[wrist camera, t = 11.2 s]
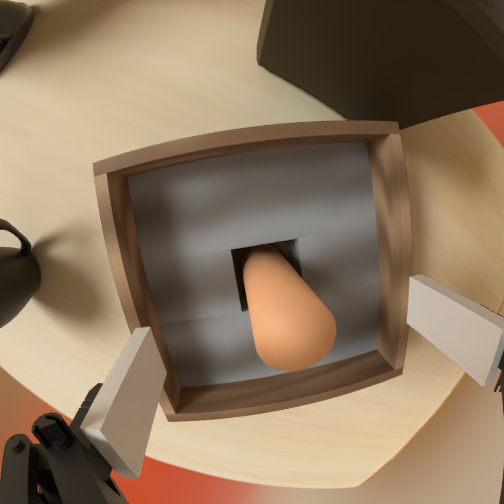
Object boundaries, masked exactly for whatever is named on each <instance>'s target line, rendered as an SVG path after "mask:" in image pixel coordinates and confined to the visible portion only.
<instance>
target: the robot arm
mask: <svg viewBox="0 0 504 504" xmlns="http://www.w3.org/2000/svg"><path fill="white" fill-rule="evenodd" d="M33 15H34V13H33V9H32V8H30V7H29V6H28V5H27V4H25V3H20V2H19V3H18V2H14V1H9V0H0V71H1V70H2V69H3V67H4V66H5V65H6V64H7V63H8V61H9V60H10V59H11V57H12V56H13V55H14V53H15V52H16V50H17V49H18V47H19V46H20V44H21V43H22V41H23V39H24V38H25V36H26V34H27V32H28V30H29V28H30V26H31V23H32V20H33ZM406 323H407V324H409V325H410V326H411V327H412V328H414V329H415V330H416V331H417V332H418V333H420V334H421V335H422V336H423V337H425V338H426V339H427V340H428V341H429V342H431V343H432V344H433V345H434V346H436V347H437V348H438V349H439V350H440V351H442V352H443V353H444V354H445V355H446V356H447V357H449V358H450V359H451V360H452V361H453V362H455V363H456V364H457V365H458V366H459V367H460V368H462V369H463V370H464V371H465V372H466V373H468V374H469V375H470V376H471V377H472V378H473V379H474V380H475V381H477V382H478V383H479V384H480V385H481V386H482V387H484V386H485V385H487V384H488V383H489V382H490V381H492V380H493V379H494V376H495V374H496V371H497V369H498V368H499V369H500V370H502V372H501V374H500V376H499V379H498V381H497V384H496V386H495V388H494V392H496V390H497V388H498V386H500V385H501V387H500V390H499V392H502V401H503V413H504V317H502V316H501V315H499V314H496V313H495V312H494V311H492V310H490V309H488V308H486V307H485V306H483V305H480V304H478V303H476V302H474V301H472V300H470V299H468V298H467V297H465V296H463V295H461V294H459V293H457V292H455V291H453V290H451V289H449V288H447V287H445V286H443V285H441V284H439V283H437V282H435V281H433V280H431V279H429V278H427V277H425V276H423V275H421V274H418V275H414V276H411V277H410V278H409V298H408V311H407V322H406ZM166 374H167V372H166V370H165V367H164V364H163V362H162V359H161V356H160V354H159V351H158V348H157V345H156V342H155V340H154V337H153V334H152V331H151V328H150V327H143V328H136V329H135V331H134V332H133V334H132V335H131V337H130V339H129V340H128V342H127V344H126V345H125V347H124V349H123V350H122V352H121V354H120V355H119V357H118V359H117V360H116V362H115V364H114V366H113V367H112V369H111V371H110V373H109V374H108V376H107V378H106V380H105V381H104V383H98V384H97V385H95V386H94V387H93V388H92V389H91V390H90V391H89V393H88V394H87V396H86V398H85V401H83V403H82V405H81V408H79V410H78V412H77V413H76V415H75V417H74V419H73V421H72V422H71V424H70V426H68V425H67V424H66V422H65V421H64V419H63V418H62V416H61V415H59V414H57V413H47V414H44V415H42V416H40V417H39V418H38V419H37V420H36V421H35V422H34V424H33V425H32V433H33V434H34V436H35V437H36V438H37V439H38V441H39V442H40V443H41V444H33V443H32V442H31V440H30V439H29V438H28V437H27V436H26V435H24V434H16V435H13V436H12V437H10V438H9V439H8V441H7V442H6V444H5V448H4V454H3V460H2V468H1V478H0V504H129V503H128V501H127V500H126V498H125V497H124V495H123V494H122V492H121V491H120V489H119V487H118V486H117V484H116V482H115V481H114V479H113V478H112V477H111V476H110V474H111V471H112V468H113V469H114V471H115V472H116V473H117V474H118V475H120V477H127V478H135V479H139V477H140V473H141V468H142V464H143V460H144V456H145V452H146V447H147V443H148V440H149V436H150V432H151V428H152V424H153V420H154V417H155V413H156V409H157V406H158V402H159V398H160V395H161V391H162V388H163V384H164V381H165V377H166ZM37 486H38V487H39V493H38V488H37ZM499 504H504V470H503V481H502V490H501V496H500V503H499Z"/></svg>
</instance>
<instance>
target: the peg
mask: <svg viewBox="0 0 504 504" xmlns="http://www.w3.org/2000/svg"><path fill="white" fill-rule="evenodd" d="M242 273H243V279H244V285H245V290H246V296H247V302H248V308H249V314H250V319H251V325H252V330H253V336H254V342H255V347H256V351H257V353H258V355H259V357H260V358H261V359H262V360H263V362H265V363H266V364H267V365H268V366H270V367H272V368H274V369H277V370H280V371H299V370H303V369H306V368H309V367H311V366H313V365H315V364H316V363H318V362H319V361H320V360H322V359H323V358H324V357H325V356H326V355H327V353H328V352H329V351H330V349H331V348H332V346H333V344H334V341H335V338H336V323H335V319H334V317H333V315H332V314H331V312H330V311H329V310H328V308H327V307H326V306H325V305H324V304H323V303H322V301H321V300H320V299H319V298H318V297H317V295H316V294H315V293H314V292H313V291H312V290H311V288H310V287H309V286H308V285H307V284H306V283H305V281H304V280H303V279H302V278H301V277H300V276H299V274H298V273H297V272H296V271H295V270H294V269H293V267H292V266H291V265H290V264H289V263H288V262H287V260H286V259H285V258H284V257H283V256H282V255H281V254H280V252H279V251H278V250H277V249H276V248H274V247H272V246H270V245H265V244H261V245H256V246H254V247H252V248H250V249H249V250H248V251H247V252H246V253H245V255H244V257H243V259H242Z"/></svg>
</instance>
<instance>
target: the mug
mask: <svg viewBox="0 0 504 504" xmlns="http://www.w3.org/2000/svg"><path fill="white" fill-rule="evenodd" d="M0 230H7V231H9V232H11V233H12V234H14V235H15V236H16V237H17V238H18V239H19V240H20V241H21V249H18V248H11V247H0V328H1V327H3V326H4V325H6V324H7V323H8V322H10V321H11V320H12V319H13V318H15V317H16V316H17V315H18V314H19V312H20V311H21V310H22V309H23V308H24V307H25V305H26V304H27V303H28V301H29V300H30V299H31V297H32V296H33V294H34V293H35V292H36V291H37V290H38V288H39V286H40V281H41V274H40V268H39V265H38V262H37V260H36V259H35V257H34V256H33V254H32V253H31V244H30V242H29V241H28V239H27V238H26V237H25V236H24V235H23V234H21V233H20V232H19V231H18V230H17V229H16V228H15V227H13V226H12V225H11V224H10V223H9V222H7V221H5V220H3V219H0Z"/></svg>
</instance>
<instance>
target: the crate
mask: <svg viewBox="0 0 504 504" xmlns="http://www.w3.org/2000/svg"><path fill="white" fill-rule="evenodd" d="M93 170H94V179H95V186H96V194H97V200H98V207H99V213H100V218H101V224H102V229H103V234H104V239H105V244H106V248H107V253H108V257H109V261H110V265H111V269H112V273H113V277H114V281H115V284H116V288H117V291H118V295H119V298H120V302H121V305H122V308H123V311H124V314H125V318H126V321H127V324H128V327H129V329H130V332H131V335H132V334H133V332H134V331H135V329H136V328H143V327H150V328H151V331H152V334H153V337H154V340H155V342H156V345H157V348H158V351H159V354H160V356H161V359H162V362H163V364H164V367H165V370H166V372H167V374H166V377H165V381H164V384H163V388H162V391H161V395H160V398H159V403H160V405H161V407H162V409H163V411H164V414H165V416H166V418H167V420H168V421H169V422H179V421H200V420H213V419H223V418H233V417H241V416H248V415H255V414H261V413H267V412H273V411H278V410H284V409H289V408H293V407H298V406H303V405H307V404H311V403H315V402H319V401H323V400H327V399H331V398H334V397H338V396H341V395H345V394H348V393H351V392H354V391H358V390H361V389H364V388H367V387H370V386H372V385H375V384H378V383H381V382H384V381H386V380H389V379H392V378H394V377H397V376H399V375H402V373H403V367H404V361H405V354H406V347H407V339H408V330H409V324H407V323H406V322H407V311H408V298H409V278H410V277H411V276H412V228H411V211H410V199H409V189H408V180H407V172H406V165H405V158H404V152H403V146H402V141H401V136H400V130H399V126H398V122H391V121H314V122H297V123H285V124H274V125H264V126H256V127H248V128H240V129H233V130H227V131H220V132H214V133H209V134H203V135H198V136H193V137H188V138H183V139H178V140H174V141H169V142H165V143H161V144H157V145H153V146H149V147H145V148H141V149H137V150H134V151H130V152H127V153H123V154H120V155H117V156H113V157H110V158H107V159H104V160H101V161H98V162H95V163H93ZM285 240H289V245H290V253H291V261H292V267H293V269H294V270H295V271H296V272H297V273H298V274H299V276H300V277H301V278H302V279H303V280H304V281H305V283H306V284H307V285H308V286H309V287H310V288H311V290H312V291H313V292H314V293H315V294H316V295H317V297H318V298H319V299H320V300H321V301H322V303H323V304H324V305H325V306H326V307H327V308H328V310H329V311H330V312H331V314H332V315H333V317H334V319H335V323H336V338H335V341H334V344H333V346H332V348H331V349H330V351H329V352H328V353H327V355H326V356H325V357H324V358H323V359H322V360H320V361H319V362H318V363H316V364H315V365H313V366H311V367H309V368H306V369H303V370H299V371H280V370H277V369H274V368H272V367H270V366H268V365H267V364H266V363H265V362H263V360H262V359H261V358H260V357H259V355H258V353H257V351H256V347H255V342H254V336H253V330H252V325H251V319H250V314H249V308H248V302H247V296H246V295H241V296H240V291H239V286H238V280H237V275H236V269H235V263H234V258H233V252H232V249H237V248H243V247H249V246H255V245H261V244H267V243H273V242H279V241H285Z"/></svg>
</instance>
